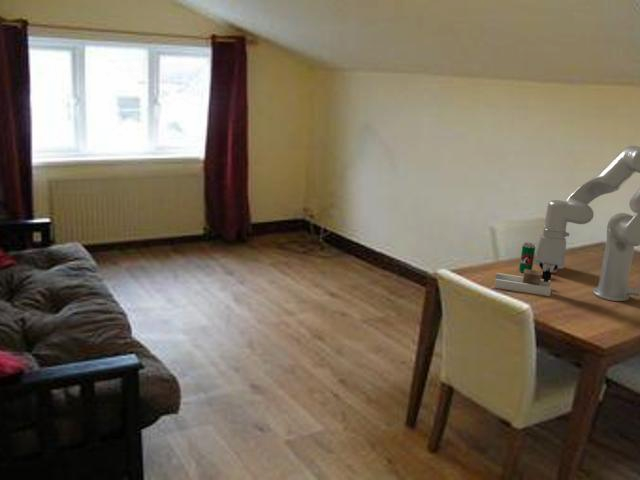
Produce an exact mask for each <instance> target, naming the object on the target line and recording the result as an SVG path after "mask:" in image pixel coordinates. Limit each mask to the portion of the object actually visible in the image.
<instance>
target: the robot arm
mask: <svg viewBox="0 0 640 480" xmlns="http://www.w3.org/2000/svg"><path fill="white" fill-rule="evenodd" d="M636 173H639V174H640V146H638V145H629V146H626V147H625V148H623V149H622V150H621V151H620V152H619V153H618V154H617V155H616V156H615V157H614V158H613V159H612V160H611V161H610V162H609V164H607V166H606V167H604V169H602V171H601V172H599V173H598V174H597V175H596V176H595V177H593V178H590V179H589V180H588V181H586V182H585V183H583V184H581V185H580V186H579V187H578V188H576V189H575V190H574V191H573V192H572V193H571V194H570V195H569V197H568V198H566V200H565V201H563V200H556V199H553V200H550V201H549V202H548V203H547V208H546V214H545V219H544V225H543V233H542V234H541V235H540V236H539V238H538V241H537V246H536V248H535V254H534V260H533V265H535V266H538V267H540V269H541V268H542V269H541V271H542V270H543V271H542V274H541V279H543V280H544V282H548V280H549V281H551V279H552V274H553V273H552V272H553V271H554V270H556V269H557V270H559V269H564V268H565V265H564V264H565V259H566V251H567V238H566V237H570V232H567V231H566V230H567V225H568V223H573V224H577V225H586V224H588V223H590V222H591V221H592V220H593V218H594V214H595V212H594V210H593V209H592V207H591V206H590V205H589V204H590V203H591V202H593V201H594V200H595V199H597V198H599V197H600V196H603V195H607V194H608V195H609V194H611V193H614V192H617V191H619V189H621V187H622V186H623V185H624V184H625V183H626V182H627V181H628V180H629V179H630V178H632V177H633V175H634V174H636ZM628 202H629V203H628V205H629V209H630V210H631V211H632V212H633V213H635V214H634V215H632V214H630V213H625V212H618V213H615V214H614V215H612V216H611V217H610V218H609V220H608V222H607V226H606V243H605V249H604V255H603V260H602V265H601V270H600V275H599V280H598V286H596V287H594V288H593V289H592V294H593V295H595V296H596V297H599V298H600V299H603V300H608V301H613V302H614V301H615V302H626V301H628V300H629V299H630V295H632V296H638V297H639V296H640V290H637V289H636V288H630V287H629V286H628V282H629V281H628V280H629V277H630V273H631V267H632V261H633V257H634V251H635V247H640V187H639V188H638V189H637V191H635V193H634V194H633V195H632V197H631V198H630V199H629V201H628ZM546 264H551V265H550V268H549V269H548V271H547V268H546Z"/></svg>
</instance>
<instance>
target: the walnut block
mask: <svg viewBox="0 0 640 480" xmlns="http://www.w3.org/2000/svg"><path fill="white" fill-rule="evenodd" d="M522 277H523V282H522V283H527V284H534V285H540V280H541V279H542V270H535V269H532V270H529V269H524V273H523V276H522Z"/></svg>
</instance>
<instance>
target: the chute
mask: <svg viewBox="0 0 640 480" xmlns="http://www.w3.org/2000/svg"><path fill="white" fill-rule="evenodd" d="M522 282H523V276H520V275H515V274H514V275H513V274H509V273H508V274H507V273H500V272H496V275H495V281H494V289H500V290H501V289H502V290H507V291H514V292H522V293H526V294H534V295H540V296H547V297H550V296H551V293H552V287H551V282H552V281H551V280H548V282H544V279H542V278H541V280H540V285H534V284H527V283H522Z"/></svg>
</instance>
